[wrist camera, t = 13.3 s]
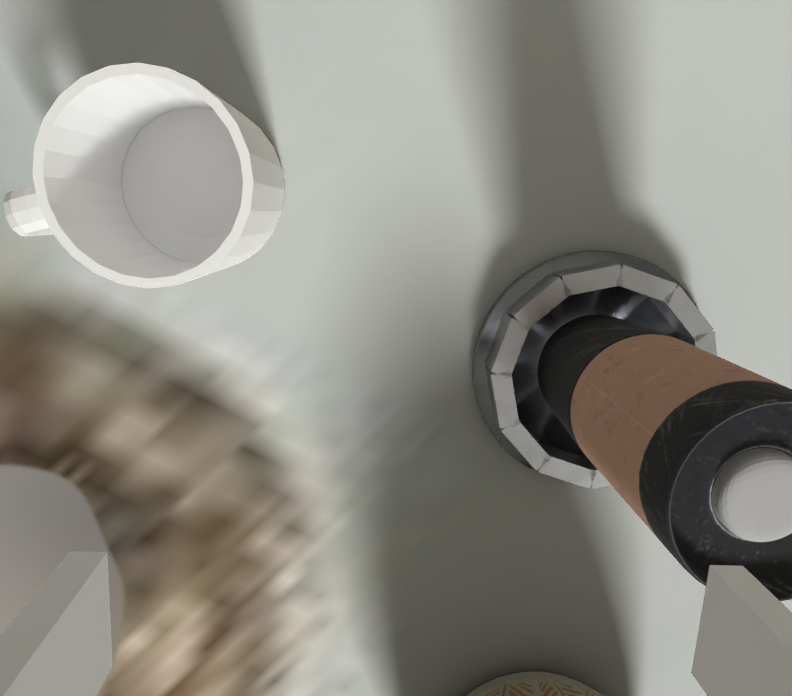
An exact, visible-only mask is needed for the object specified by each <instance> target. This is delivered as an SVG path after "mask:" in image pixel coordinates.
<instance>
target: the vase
mask: <svg viewBox="0 0 792 696" xmlns="http://www.w3.org/2000/svg"><path fill="white" fill-rule="evenodd" d="M467 696H603V695H602V694H601V693H599V692H597V691H596V690H594V689H592V688H590V687H588V686H586V685H585V684H583V683H581V682H578V681H576V680H574V679H572V678H569V677H566V676H563V675H560V674H555V673H548V672H531V671H527V672H520V673H512V674H509V675H505V676H501V677H498V678H496V679H493V680H491V681H489V682H486V683H484V684H483V685H481V686H479V687H478V688H476V689H474V690H473V691H471V692H470V693H469V694H468V695H467Z"/></svg>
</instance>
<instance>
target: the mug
mask: <svg viewBox="0 0 792 696" xmlns="http://www.w3.org/2000/svg"><path fill="white" fill-rule="evenodd" d="M33 181H34V186H30V187H25V188H21V189H18V190H14V191H11V192H9V193H7V194H6V195H5V198H4V201H3V206H4V212H5V217H6V219H7V221H8V222H9V224H10V226H11V228H12V229H13V230H14V231H15V232H16V233H18V234H19V235H20V236H23V237H24V236H39V235H49V234H53V235H54V236H55V237H56V238H57V239H58V241H59V242H60V243H61V244H62V245H63V247H64V248H65V249H66V250H67V252H68V253H69V254H70V255H71V256H72V257H74V258H75V259H76V260H78V261H79V262H80V263H82V264H83V265H84V266H86V267H87V268H88V269H90V270H91V271H92V272H94V273H95V274H98V275H100V276H102V277H105V278H107V279H110V280H112V281H114V282H117V283H119V284H122V285H129V286H135V287H142V288H148V289H149V288H159V287H168V286H177V285H179V284H182V283H185V282H188V281H191V280H194V279H197V278H200V277H202V276H205V275H208V274H211V273H214V272H217V271H220V270H222V269H225V268H228V267H230V266H233V265H235V264H238V263H240V262H243V261H245V260H247V259H248V258H249V257H251V256H252V255H253V254H255V253H256V252H257V251H259V250H260V249H261V248H262V247H263V246H264V244H265V243H266V242H267V241H268V239H269V238H270V237H271V235H272V234H273V233H274V231H275V229H276V226H277V224H278V221H279V219H280V216H281V214H282V211H283V203H284V195H285V185H284V178H283V170H282V166H281V164H280V161H279V159H278V156H277V154H276V151H275V149H274V147H273V145H272V144H271V142H270V141H269V140H268V138H267V137H266V136H265V134H264V133H263V132H262V130H261V129H260V128H259V127H258V126H257V125H256V124H254V123H253V122H252V121H251V120H249V119H248V118H247V117H246V116H245V115H243V114H242V113H241V112H239V111H238V110H237V109H235V108H234V107H232V106H231V105H230V104H228V103H227V102H225V101H224V100H222V99H221V98H220V97H218V96H217V95H215V94H214V93H213V92H211V91H210V90H208V89H207V88H206V87H204V86H203V85H201V84H200V83H198V82H197V81H196V80H194V79H191V78H189V77H187V76H185V75H183V74H181V73H178V72H176V71H174V70H172V69H170V68H167V67H161V66H156V65H150V64H144V63H129V64H119V65H110V66H106V67H104V68H102V69H99V70H97V71H94V72H92V73H90V74H87V75H85V76H82V77H81V78H80V79H78V80H77V81H76V82H75V83H73V84H72V85H71V86H70V87H69V88H67V89H66V90H65V91H64V92H62V93H61V94H60V95H59V96H58V98H57V99H56V101H55V102H54V104H53V105H52V107H51V108H50V109H49V111H48V112H47V114H46V115H45V117H44V118H43V121H42V124H41V127H40V130H39V133H38V136H37V139H36V142H35V145H34V156H33Z"/></svg>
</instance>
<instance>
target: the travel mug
mask: <svg viewBox="0 0 792 696" xmlns="http://www.w3.org/2000/svg"><path fill="white" fill-rule="evenodd" d="M538 383H539V386H540V390H541V392H542V394H543V397H544V398H545V400H546V402H547V403H548V405H549V406H550V408H551V409H552V411H553V412H554V413H555V415H556V416H557V418H558V419H559V420H560V422H561V423H562V424H563V426H564V427H565V429H566V430H567V431H568V433H569V434H570V435H571V437H572V438H573V439H574V441H575V442H576V444H577V445H578V446H579V448H580V449H581V450H582V452H583V453H584V454H585V455H586V457H587V458H588V459H589V460H590V461H591V462H592V464H593V465H594V466H595V467H596V468H597V469H598V470H599V472H600V473H601V474H602V475H603V476H604V477H605V478H606V479H607V481H608V482H609V483H610V484H611V485H612V486H613V487H614V489H615V490H616V491H617V492H618V493H619V494H620V495H621V497H622V498H623V499H624V500H625V501H626V502H627V503H628V505H629V506H630V507H631V508H632V509H633V510H634V511H635V513H636V514H637V515H638V516H639V517H640V518H641V519H642V521H643V522H644V523H645V524H646V525H647V526H648V527H649V529H650V530H651V531H652V532H653V533H654V534H655V535H656V537H657V538H658V539H659V540H660V541H661V542H662V543H663V545H664V546H665V547H666V548H667V549H668V550H669V551H670V553H671V554H672V555H673V556H674V557H675V558H676V559H677V561H678V562H679V563H680V564H681V565H682V566H683V567H684V569H686V570H687V571H688V572H689V573H690V574H691V575H692V576H693V577H694V578H695V579H696V580H698V581H699V582H701V583H702V584H704V585H705V586H706V584H707V578H708V572H709V566H710V565H731V566H744V567H745V568H746V569H747V570H748V571H749V572H750V573H751V574H752V575H753V576H754V577H755V578H756V579H757V580H758V581H759V582H760V583H761V584H762V585H763V586H765V587H766V588H767V589H768V590H769V591H770V592H771V593H772V594H773V595H774V596H775V597H776V598H777V599H778V600H779V601H784V600H789V599H792V389H789V388H787V387H785V386H783V385H780V384H778V383H776V382H774V381H771V380H769V379H767V378H765V377H762V376H760V375H758V374H756V373H754V372H751V371H749V370H747V369H745V368H742V367H740V366H738V365H736V364H733V363H731V362H729V361H727V360H725V359H722V358H720V357H718V356H716V355H713V354H711V353H709V352H707V351H704V350H702V349H700V348H698V347H695V346H693V345H691V344H689V343H687V342H684V341H682V340H679V339H677V338H674V337H671V336H668V335H666V334H663V333H660V332H657V331H654V330H651V329H648V328H645V327H643V326H640V325H637V324H634V323H631V322H628V321H625V320H622V319H619V318H616V317H612V316H608V315H599V314H595V315H586V316H582V317H578V318H575V319H573V320H571V321H569V322H567V323H565V324H564V325H562V326H561V327H560V328H559V329H557V330H556V331H555V332H554V333H553V334H552V335H551V337H550V338H549V339H548V340H547V342H546V344H545V345H544V347H543V349H542V352H541V354H540V358H539V362H538Z"/></svg>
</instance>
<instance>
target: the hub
mask: <svg viewBox="0 0 792 696" xmlns="http://www.w3.org/2000/svg"><path fill="white" fill-rule="evenodd" d="M595 314H599V315H608V316H612V317H616V318H619V319H622V320H625V321H628V322H631V323H634V324H637V325H640V326H643V327H645V328H648V329H651V330H654V331H657V332H660V333H663V334H666V335H668V336H671V337H674V338H677V339H679V340H682V341H684V342H687V343H689V344H691V345H693V346H695V347H698V348H700V349H702V350H704V351H707V352H709V353H711V354H713V355H716V356H717V352H716V341H715V332H713V331H712V330H713V328H712V327H711V325H710V324H709V323H708V321H707V320H706V319H705V318H704V316H703V315H702V314H701V312H700V311H699V310H698V308H697V306H696V304H695V303H694V301H693V300H692V298H691V297H690V295H689V294H688V292H687V291H686V290H685V289H684V288H683V287H682V286H681V285H680V284H679V282H677V281H676V280H675V279H674V278H673V277H671V276H670V275H669V274H668V273H667V272H665V271H663V270H662V269H660V268H658V267H657V266H655V265H654V264H651V263H649V262H647V261H644V260H642V259H640V258H637V257H633V256H629V255H626V254H621V253H614V252H607V251H584V252H576V253H570V254H567V255H563V256H559V257H556V258H553V259H551V260H548V261H546V262H544V263H541V264H540V265H538V266H536V267H534V268H533V269H531V270H529V271H528V272H526V273H525V274H524V275H522V276H521V277H520V278H518V279H517V280H516V281H515V282H513V283H512V284H511V285H510V286H509V287H508V288H507V289H506V290H505V291H504V292H503V294H502V295H501V296H500V297H499V299H498V300H497V301H496V302H495V304H494V305H493V307H492V308H491V310H490V312H489V313H488V315H487V317H486V319H485V321H484V323H483V325H482V328H481V330H480V333H479V336H478V339H477V343H476V347H475V353H474V359H473V380H474V389H475V393H476V397H477V402H478V405H479V407H480V410H481V412H482V415H483V417H484V419H485V421H486V423H487V425H488V426H489V428H490V430H491V432H492V434H493V435H494V436H495V438H496V439H497V440H498V441H499V443H500V444H501V445H502V446H503V447H504V448H505V449H506V450H507V451H508V452H509V453H510V454H511V455H512V456H513V457H514V458H516V459H517V460H518V461H520V462H521V463H522V464H524V465H526V466H528V467H529V468H531V469H533V470H535V471H537V472H539V473H542V474H544V475H547V476H549V477H553V478H557V479H560V480H563V481H566V482H569V483H573V484H576V485H579V486H582V487H585V488H588V489H590V487H591V488H592V489H596V488H602V487H607V486H612V485H611V484H610V483H609V482H608V481H607V479H606V478H605V477H604V476H603V475H602V474H601V473H600V472H599V470H598V469H597V468H596V467H595V466H594V465H593V464H592V462H591V461H590V460H589V459H588V458H587V457H586V455H585V454H584V453H583V452H582V450H581V449H580V448H579V446H578V445H577V444H576V442H575V441H574V439H573V438H572V437H571V435H570V434H569V433H568V431H567V430H566V429H565V427H564V426H563V424H562V423H561V422H560V420H559V419H558V418H557V416H556V415H555V413H554V412H553V411H552V409H551V408H550V406H549V405H548V403H547V402H546V400H545V398H544V397H543V394H542V392H541V390H540V386H539V383H538V362H539V358H540V354H541V352H542V349H543V347H544V345H545V344H546V342H547V340H548V339H549V338H550V337H551V335H552V334H553V333H554V332H555V331H556V330H557V329H559V328H560V327H561V326H562V325H564V324H565V323H567V322H569V321H571V320H573V319H575V318H578V317H582V316H586V315H595Z"/></svg>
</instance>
